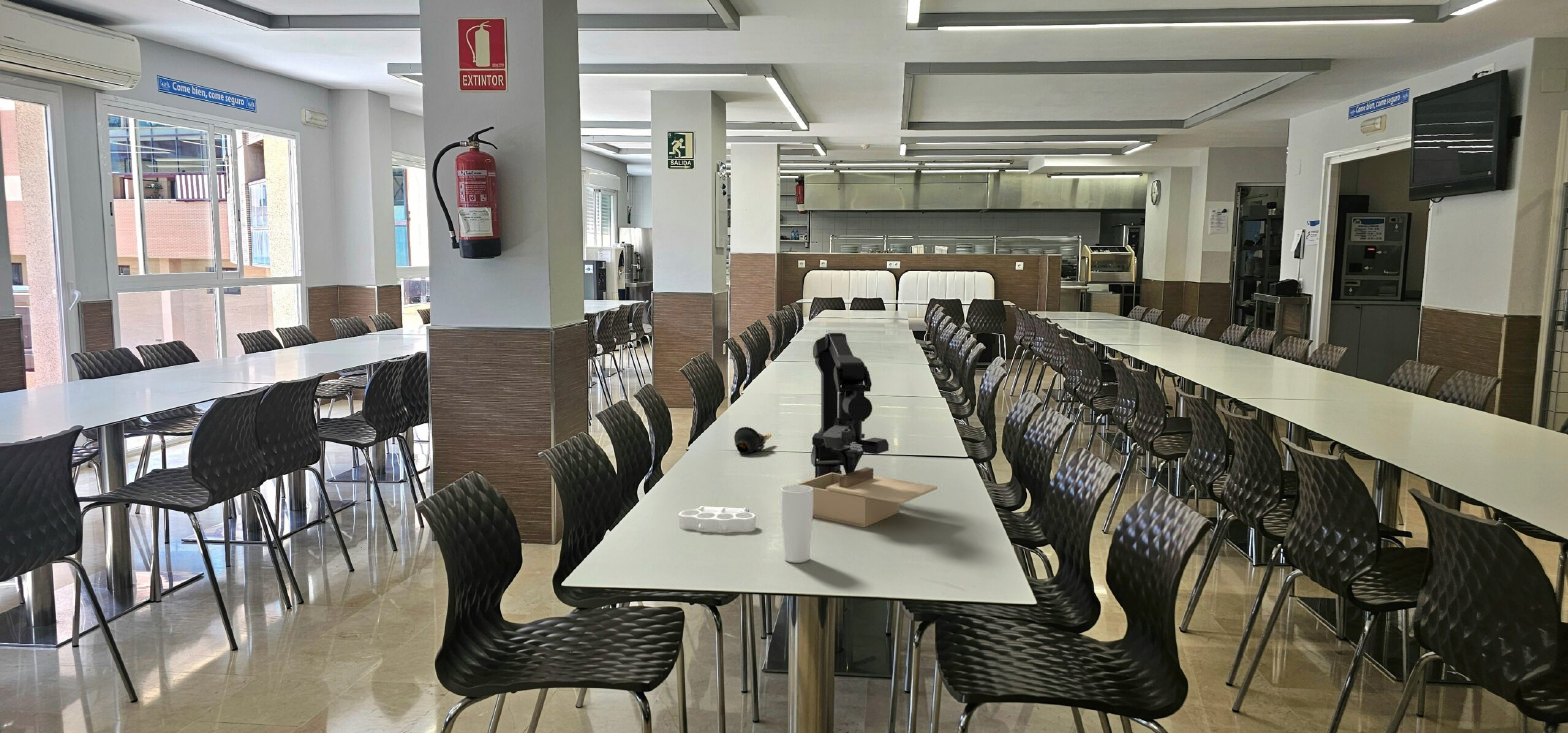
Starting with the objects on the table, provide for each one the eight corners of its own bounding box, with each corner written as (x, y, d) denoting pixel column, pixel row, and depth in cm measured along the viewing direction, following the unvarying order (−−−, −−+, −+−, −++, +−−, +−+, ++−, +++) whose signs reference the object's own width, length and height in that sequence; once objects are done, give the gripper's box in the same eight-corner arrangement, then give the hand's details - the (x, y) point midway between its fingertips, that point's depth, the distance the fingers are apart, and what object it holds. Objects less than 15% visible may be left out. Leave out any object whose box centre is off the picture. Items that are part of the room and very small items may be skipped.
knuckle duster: (762, 519, 222) (750, 538, 207) (689, 516, 224) (672, 534, 210) (762, 505, 221) (750, 523, 207) (689, 502, 224) (672, 519, 210)
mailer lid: (825, 489, 219) (826, 476, 219) (863, 476, 233) (863, 464, 232) (902, 503, 207) (902, 490, 207) (937, 488, 220) (937, 476, 220)
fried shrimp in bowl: (723, 440, 291) (741, 413, 306) (740, 469, 294) (756, 441, 309) (748, 431, 287) (764, 405, 302) (764, 461, 290) (780, 433, 305)
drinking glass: (779, 554, 194) (779, 484, 193) (811, 554, 195) (811, 484, 193) (781, 565, 188) (781, 493, 186) (815, 564, 188) (815, 492, 186)
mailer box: (794, 512, 226) (794, 484, 225) (831, 499, 239) (831, 472, 238) (864, 527, 214) (865, 497, 213) (899, 512, 227) (900, 484, 226)
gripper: (798, 413, 222) (798, 477, 224) (865, 422, 211) (864, 489, 213) (825, 407, 231) (824, 469, 233) (890, 415, 220) (889, 480, 222)
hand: (849, 477), depth 225 cm, fingers closed
